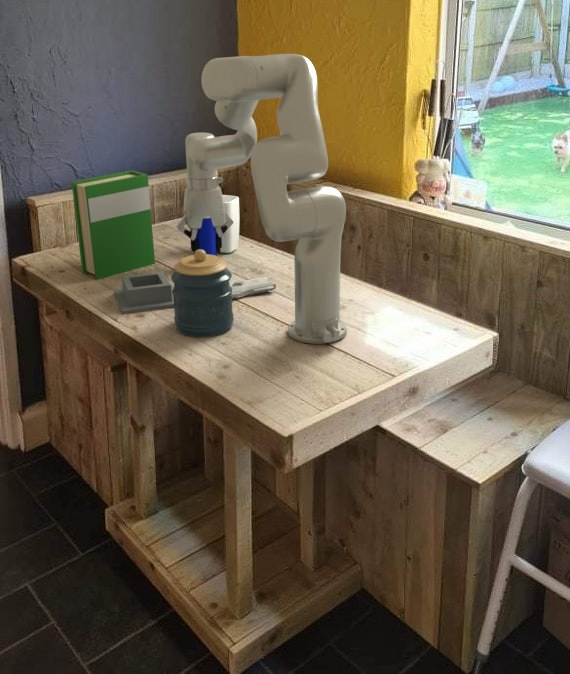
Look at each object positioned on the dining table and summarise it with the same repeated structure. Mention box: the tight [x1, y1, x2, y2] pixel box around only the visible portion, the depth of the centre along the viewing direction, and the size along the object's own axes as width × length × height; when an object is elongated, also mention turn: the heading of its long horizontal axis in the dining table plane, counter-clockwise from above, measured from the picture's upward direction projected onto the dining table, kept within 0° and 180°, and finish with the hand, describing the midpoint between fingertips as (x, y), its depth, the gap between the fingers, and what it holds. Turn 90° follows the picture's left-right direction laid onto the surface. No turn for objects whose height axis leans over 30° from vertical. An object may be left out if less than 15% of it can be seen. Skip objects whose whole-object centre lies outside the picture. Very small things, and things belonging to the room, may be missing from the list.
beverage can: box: [196, 216, 218, 256], centre depth 216 cm, size 5×5×15 cm
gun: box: [229, 276, 277, 300], centre depth 201 cm, size 18×4×10 cm
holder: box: [113, 271, 174, 315], centre depth 197 cm, size 14×14×5 cm
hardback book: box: [71, 169, 156, 281], centre depth 215 cm, size 18×7×24 cm, turn 132°
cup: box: [219, 194, 240, 254], centre depth 229 cm, size 7×7×15 cm
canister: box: [170, 249, 234, 338], centre depth 179 cm, size 13×13×18 cm
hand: (206, 251), depth 217 cm, fingers closed on beverage can, 5 cm apart
